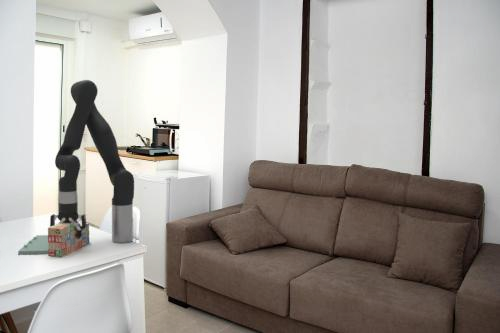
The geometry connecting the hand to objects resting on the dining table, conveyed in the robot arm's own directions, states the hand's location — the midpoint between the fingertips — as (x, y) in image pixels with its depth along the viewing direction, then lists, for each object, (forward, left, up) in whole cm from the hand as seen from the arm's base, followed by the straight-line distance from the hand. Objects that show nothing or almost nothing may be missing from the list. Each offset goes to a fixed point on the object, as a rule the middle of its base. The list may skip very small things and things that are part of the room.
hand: (68, 238), depth 190 cm
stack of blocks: (0, -1, -5) cm, 5 cm away
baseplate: (+12, -6, -5) cm, 14 cm away
